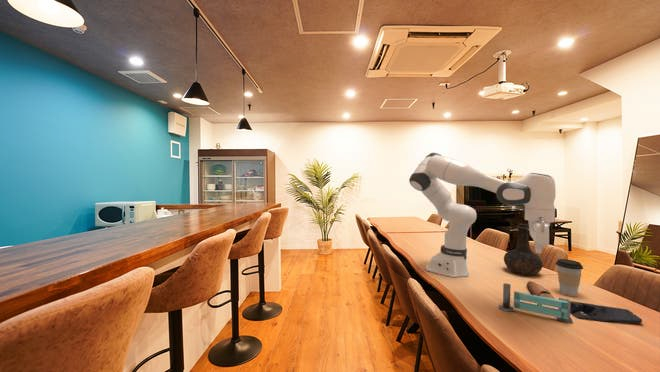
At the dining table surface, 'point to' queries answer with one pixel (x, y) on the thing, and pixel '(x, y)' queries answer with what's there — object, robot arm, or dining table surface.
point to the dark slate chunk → (602, 313)
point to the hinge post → (506, 299)
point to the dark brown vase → (523, 255)
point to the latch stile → (568, 312)
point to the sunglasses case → (538, 290)
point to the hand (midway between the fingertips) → (538, 252)
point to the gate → (539, 308)
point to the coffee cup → (569, 276)
